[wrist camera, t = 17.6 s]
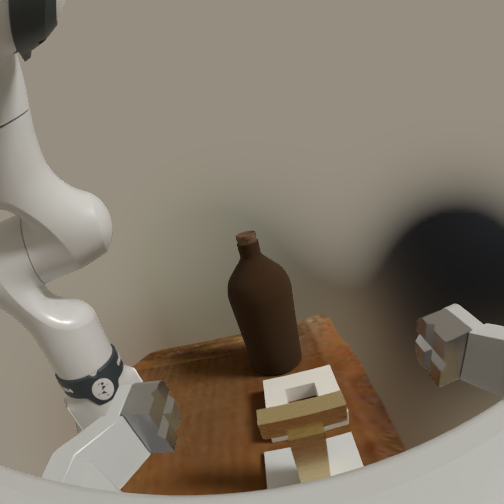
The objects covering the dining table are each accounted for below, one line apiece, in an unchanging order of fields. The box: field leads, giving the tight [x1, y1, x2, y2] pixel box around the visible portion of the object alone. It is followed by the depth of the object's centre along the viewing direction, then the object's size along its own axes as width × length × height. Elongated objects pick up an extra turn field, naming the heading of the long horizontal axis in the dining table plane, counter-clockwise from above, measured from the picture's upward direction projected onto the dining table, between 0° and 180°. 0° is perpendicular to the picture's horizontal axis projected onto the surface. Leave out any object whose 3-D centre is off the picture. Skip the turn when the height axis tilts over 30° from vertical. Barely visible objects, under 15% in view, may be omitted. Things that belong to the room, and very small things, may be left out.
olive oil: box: [228, 231, 301, 376], centre depth 52 cm, size 11×11×25 cm
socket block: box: [263, 365, 349, 443], centre depth 41 cm, size 11×11×3 cm
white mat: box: [264, 432, 364, 489], centre depth 29 cm, size 12×12×1 cm
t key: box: [257, 390, 347, 483], centre depth 27 cm, size 8×3×14 cm, turn 92°
